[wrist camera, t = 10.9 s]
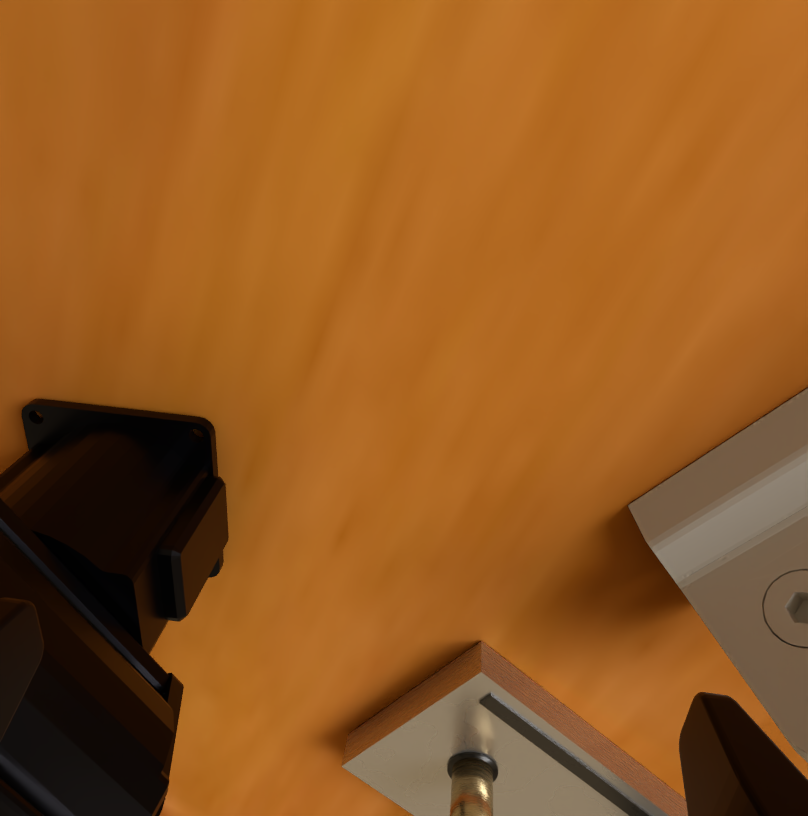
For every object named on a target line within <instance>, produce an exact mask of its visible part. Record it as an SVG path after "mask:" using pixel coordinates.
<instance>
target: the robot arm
mask: <svg viewBox="0 0 808 816" xmlns="http://www.w3.org/2000/svg"><path fill="white" fill-rule="evenodd" d="M36 411H38V412H39V413H40V414H42V416H43V418H44V419H43V418H41V417H39V416H38V415H37V413H36ZM22 419H23V424H24V429H25V434H26V438H27V443H28V448H29V451H28V452H26V453H25V454H24V455H23V456H22V457H21V458H19V459H18V460H17V461H16V462H15V463H14V464H12V465H11V466H10V467H9V468H8V469H7V470H5V471H4V472H3V473H2V474H1V475H0V816H159V815H160V813H161V811H162V808H163V804H164V800H165V797H166V795H167V791H168V785H169V774H170V768H171V762H172V756H173V750H174V743H175V737H176V731H177V725H178V719H179V712H180V706H181V700H182V694H183V688H184V687H183V684H182V683H181V682H180V681H179V680H178V679H177V678H176V677H175V676H174V675H173V674H172V673H168V674H167V673H166V672H165V671H164V670H163V668H162V667H161V666H160V665H159V664H158V663H157V662H156V661H155V660H154V659H153V658H152V657H151V656H150V655H149V654H150V652H151V651H152V649H153V647H154V645H155V644H156V642H157V640H158V638H159V636H160V635H161V633H162V631H163V629H164V628H165V626H166V624H167V622H168V621H169V620H172V621H181V620H182V619H184V618H185V617H186V616H187V615H188V614H189V612H190V610H191V608H192V606H193V604H194V603H195V601H196V599H197V597H198V595H199V593H200V592H201V590H202V588H203V586H204V584H205V582H206V580H207V579H208V577H214V576H217V574H218V573H219V572H220V570H221V568H222V566H223V562H224V561H223V549H224V547H225V545H226V543H227V542H228V521H227V504H226V487H225V483H224V481H223V480H222V479H221V477H218V467H217V452H216V436H215V429H214V426H213V425H212V424H211V422H209V421H208V420H207V419H205V418H201V417H195V416H186V415H178V414H169V413H160V412H151V411H143V410H134V409H125V408H116V407H108V406H99V405H90V404H81V403H72V402H64V401H55V400H46V399H35V400H33V401H31V402H30V403H29V404H27V405H26V406H25V407H24V408H23V410H22ZM193 429H197V430H200V431H201V432H202V433H203V436H204V437H200V436H197V435H196V434H195V433H194V430H193ZM679 752H680V760H681V767H682V775H683V782H684V789H685V797H686V804H687V811H688V816H808V780H807V779H806V778H805V776H804V775H803V774H802V773H801V772H800V771H799V770H798V769H797V768H796V767H795V765H794V764H793V763H792V762H791V761H790V760H789V759H788V758H787V757H786V756H785V755H784V753H783V752H782V751H781V750H780V749H779V748H778V747H777V746H776V745H775V744H774V742H773V741H772V740H771V739H770V738H769V737H768V736H767V735H766V734H765V733H764V732H763V730H762V729H761V728H760V727H759V726H758V725H757V724H756V723H755V722H754V721H753V719H752V718H751V717H750V716H749V715H748V714H747V713H746V712H745V711H744V710H743V709H742V707H741V706H740V705H739V704H738V703H737V702H736V701H735V700H734V699H732V698H731V697H729V696H726V695H720V694H713V693H706V692H700V693H698V694H697V695H696V696H695V697H694V699H693V701H692V704H691V706H690V709H689V712H688V714H687V717H686V720H685V722H684V725H683V728H682V730H681V734H680V739H679Z"/></svg>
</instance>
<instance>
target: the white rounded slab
mask: <svg viewBox="0 0 808 816" xmlns="http://www.w3.org/2000/svg"><path fill="white" fill-rule="evenodd" d="M628 507H629V509H630V511H631V513H632V515H633V517H634V519H635V521H636V523H637V525H638V527H639V529H640V531H641V533H642V535H643V537H644V539H645V541H646V542H647V544H648V545H649V547H650V548H651V549H652V551H653V552H654V554H655V555H656V556H657V558H658V559H659V560H660V562H661V563H662V564H663V566H664V567H665V569H666V570H667V571H668V573H669V574H670V575H671V577H672V578H673V580H674V581H675V582H676V584H677V585H678V587H679V588H680V589H681V591H682V592H683V594H684V595H685V596H686V598H687V599H688V601H689V602H690V603H691V605H692V606H693V608H694V609H695V610H696V612H697V613H698V615H699V616H700V618H701V619H702V620H703V622H704V623H705V625H706V626H707V627H708V629H709V630H710V632H711V633H712V635H713V636H714V637H715V639H716V640H717V642H718V643H719V644H720V646H721V647H722V649H723V650H724V651H725V653H726V654H727V656H728V657H729V659H730V660H731V661H732V663H733V664H734V666H735V667H736V668H737V670H738V671H739V673H740V674H741V676H742V677H743V678H744V680H745V681H746V683H747V684H748V685H749V687H750V688H751V690H752V691H753V692H754V694H755V695H756V697H757V698H758V700H759V701H760V702H761V704H762V705H763V707H764V708H765V709H766V711H767V712H768V714H769V715H770V716H771V718H772V719H773V721H774V722H775V724H776V725H777V726H778V728H779V729H780V731H781V732H782V733H783V735H784V736H785V738H786V739H787V740H788V742H789V743H790V744H791V746H792V747H793V748H794V750H795V751H796V752H797V753H798V754H799V755H800V756H801V757H802V758H803V759H804V760H806V761H807V762H808V388H807V389H805V390H804V391H802V392H801V393H799V394H798V395H796V396H795V397H793V398H792V399H790V400H789V401H787V402H785V403H784V404H782V405H781V406H779V407H778V408H776V409H775V410H773V411H772V412H770V413H769V414H767V415H766V416H764V417H762V418H761V419H759V420H758V421H756V422H755V423H753V424H752V425H750V426H749V427H747V428H746V429H744V430H743V431H741V432H739V433H738V434H736V435H735V436H733V437H732V438H730V439H729V440H727V441H726V442H724V443H723V444H721V445H720V446H718V447H716V448H715V449H713V450H712V451H710V452H709V453H707V454H706V455H704V456H703V457H701V458H700V459H698V460H697V461H695V462H693V463H692V464H690V465H689V466H687V467H686V468H684V469H683V470H681V471H680V472H678V473H677V474H675V475H674V476H672V477H671V478H669V479H667V480H666V481H664V482H663V483H661V484H660V485H658V486H657V487H655V488H654V489H652V490H651V491H649V492H648V493H646V494H644V495H643V496H641V497H640V498H638V499H637V500H635V501H634V502H632V503H631V504H629V505H628Z"/></svg>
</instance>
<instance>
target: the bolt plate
mask: <svg viewBox="0 0 808 816" xmlns="http://www.w3.org/2000/svg"><path fill="white" fill-rule="evenodd" d="M342 767H343V768H345V769H346V770H348V771H349V772H350V773H352V774H353V775H355V776H356V777H358V778H359V779H361V780H362V781H364V782H365V783H367V784H368V785H370V786H371V787H373V788H374V789H376V790H377V791H379V792H380V793H381V794H383V795H384V796H386V797H387V798H389V799H390V800H392V801H393V802H395V803H396V804H398V805H399V806H401V807H402V808H404V809H405V810H407V811H408V812H410V813H411V814H413V815H414V816H688V811H687V804H686V800H685V799H684V798H683V797H681V796H680V795H679V794H677V793H676V792H675V791H674V790H672V789H671V788H670V787H668V786H667V785H666V784H665V783H663V782H662V781H661V780H659V779H658V778H657V777H656V776H654V775H653V774H652V773H650V772H649V771H648V770H647V769H645V768H644V767H643V766H641V765H640V764H639V763H638V762H636V761H635V760H634V759H632V758H631V757H630V756H629V755H627V754H626V753H625V752H623V751H622V750H621V749H620V748H618V747H617V746H616V745H615V744H613V743H612V742H611V741H609V740H608V739H607V738H606V737H604V736H603V735H602V734H600V733H599V732H598V731H597V730H595V729H594V728H593V727H591V726H590V725H589V724H588V723H586V722H585V721H584V720H582V719H581V718H580V717H579V716H577V715H576V714H575V713H573V712H572V711H571V710H570V709H568V708H567V707H566V706H564V705H563V704H562V703H561V702H559V701H558V700H557V699H555V698H554V697H553V696H552V695H550V694H549V693H548V692H546V691H545V690H544V689H543V688H541V687H540V686H539V685H537V684H536V683H535V682H534V681H532V680H531V679H530V678H528V677H527V676H526V675H525V674H523V673H522V672H521V671H520V670H518V669H517V668H516V667H514V666H513V665H512V664H511V663H509V662H508V661H507V660H505V659H504V658H503V657H502V656H500V655H499V654H498V653H496V652H495V651H494V650H493V649H491V648H490V647H489V646H487V645H486V644H485V643H484V642H482V641H481V642H479V643H478V644H476V645H475V646H474V647H472V648H471V649H469V650H468V651H466V652H465V653H464V654H462V655H461V656H459V657H458V658H456V659H455V660H454V661H452V662H451V663H449V664H448V665H446V666H445V667H444V668H442V669H441V670H439V671H438V672H436V673H435V674H434V675H432V676H431V677H429V678H428V679H426V680H425V681H424V682H422V683H421V684H419V685H418V686H416V687H415V688H414V689H412V690H411V691H409V692H408V693H406V694H405V695H404V696H402V697H401V698H399V699H398V700H396V701H395V702H394V703H392V704H391V705H389V706H388V707H386V708H385V709H384V710H382V711H381V712H379V713H378V714H376V715H375V716H374V717H372V718H371V719H369V720H368V721H366V722H365V723H364V724H362V725H361V726H359V727H358V728H356V729H355V730H354V731H352V732H351V733H349V734H348V737H347V742H346V747H345V752H344V756H343V761H342Z"/></svg>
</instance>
